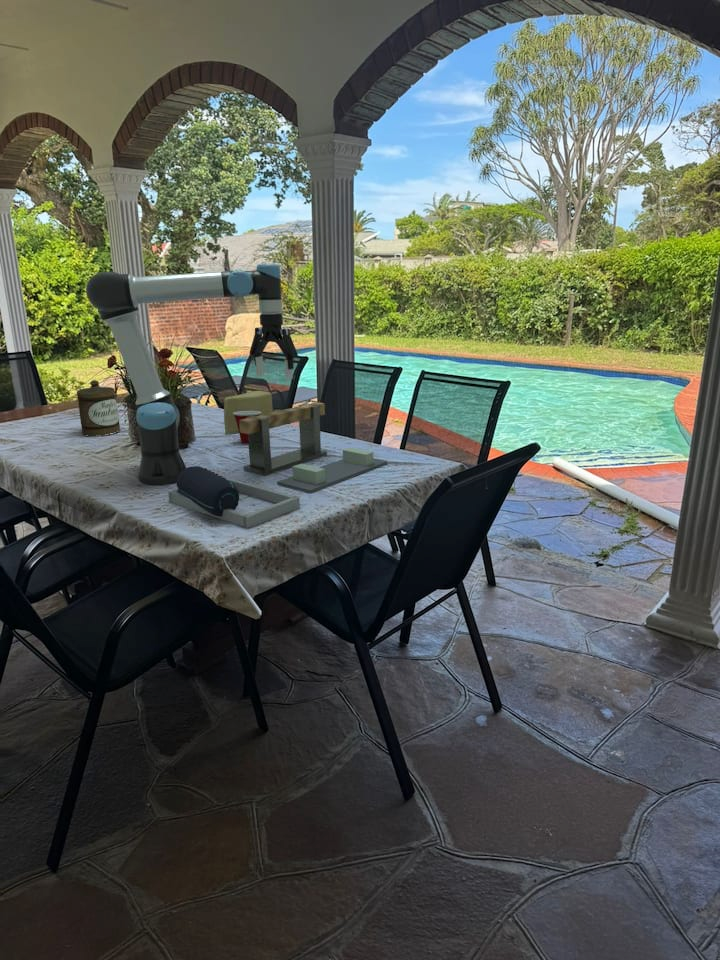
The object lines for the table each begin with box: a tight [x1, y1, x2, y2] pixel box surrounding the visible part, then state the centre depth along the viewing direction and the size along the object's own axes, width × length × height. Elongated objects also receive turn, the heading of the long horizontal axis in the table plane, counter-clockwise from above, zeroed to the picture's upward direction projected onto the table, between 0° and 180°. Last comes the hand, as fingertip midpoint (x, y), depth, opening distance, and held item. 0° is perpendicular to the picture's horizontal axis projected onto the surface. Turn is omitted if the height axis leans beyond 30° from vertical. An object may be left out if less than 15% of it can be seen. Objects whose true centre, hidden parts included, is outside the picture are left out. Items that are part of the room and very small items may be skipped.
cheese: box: [223, 390, 274, 435], centre depth 268 cm, size 22×10×15 cm, turn 139°
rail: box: [239, 401, 326, 434], centre depth 216 cm, size 36×4×4 cm, turn 141°
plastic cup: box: [233, 411, 261, 444], centre depth 248 cm, size 11×11×12 cm
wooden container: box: [76, 379, 121, 437], centre depth 265 cm, size 15×15×22 cm
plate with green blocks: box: [276, 447, 388, 494], centre depth 207 cm, size 38×14×5 cm, turn 141°
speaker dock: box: [167, 475, 301, 529], centre depth 181 cm, size 19×34×3 cm, turn 51°
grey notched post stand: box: [243, 403, 328, 477], centre depth 218 cm, size 30×10×18 cm, turn 141°
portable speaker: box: [176, 465, 240, 516], centre depth 178 cm, size 25×10×10 cm, turn 38°
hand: (274, 377), depth 218 cm, fingers open, 13 cm apart
